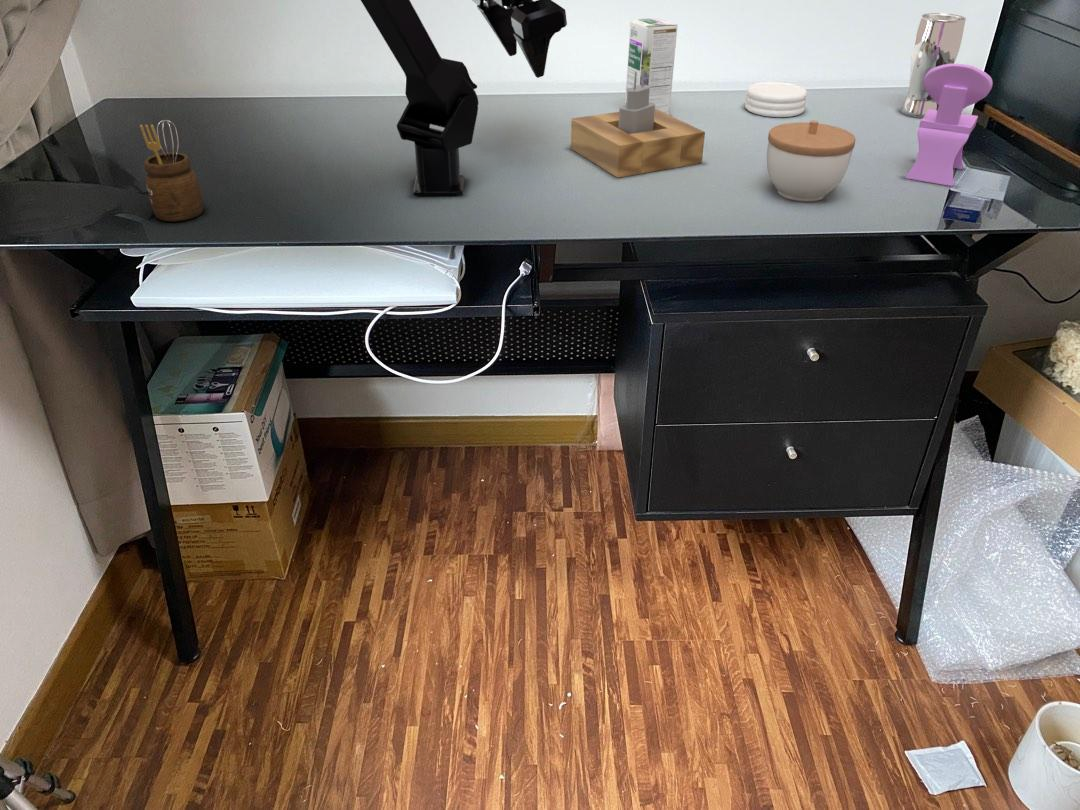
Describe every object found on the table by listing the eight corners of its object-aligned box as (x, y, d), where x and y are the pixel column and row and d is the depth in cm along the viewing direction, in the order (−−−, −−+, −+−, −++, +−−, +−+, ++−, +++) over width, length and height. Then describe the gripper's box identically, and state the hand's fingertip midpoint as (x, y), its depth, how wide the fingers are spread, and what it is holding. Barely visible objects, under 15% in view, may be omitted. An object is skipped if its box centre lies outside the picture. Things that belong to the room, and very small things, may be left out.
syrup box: (623, 112, 144) (628, 19, 136) (653, 108, 146) (659, 16, 138) (640, 121, 140) (646, 26, 132) (671, 117, 142) (679, 22, 134)
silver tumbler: (898, 117, 142) (921, 19, 133) (897, 105, 147) (919, 11, 139) (943, 120, 140) (969, 22, 132) (940, 109, 146) (965, 14, 137)
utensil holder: (210, 204, 109) (189, 109, 103) (195, 223, 104) (172, 124, 98) (164, 205, 109) (139, 109, 103) (147, 224, 104) (119, 125, 97)
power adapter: (614, 158, 125) (619, 72, 118) (636, 149, 128) (641, 65, 121) (632, 162, 123) (637, 75, 116) (653, 153, 126) (660, 68, 120)
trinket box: (843, 183, 116) (857, 113, 111) (844, 212, 108) (859, 137, 102) (762, 175, 119) (773, 106, 113) (757, 203, 110) (768, 130, 105)
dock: (617, 177, 118) (619, 145, 115) (570, 148, 128) (571, 118, 126) (701, 163, 123) (705, 131, 120) (650, 136, 133) (652, 106, 131)
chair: (971, 168, 121) (1003, 57, 113) (961, 187, 115) (995, 71, 106) (910, 158, 124) (937, 49, 116) (897, 176, 118) (925, 62, 110)
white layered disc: (733, 104, 148) (736, 83, 146) (784, 99, 151) (787, 79, 149) (762, 120, 140) (766, 98, 138) (815, 115, 143) (819, 93, 141)
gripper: (597, -56, 104) (608, 69, 115) (533, -87, 117) (548, 28, 128) (514, -29, 102) (534, 96, 113) (458, -64, 114) (481, 51, 125)
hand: (526, 65), depth 120 cm, fingers open, 9 cm apart
